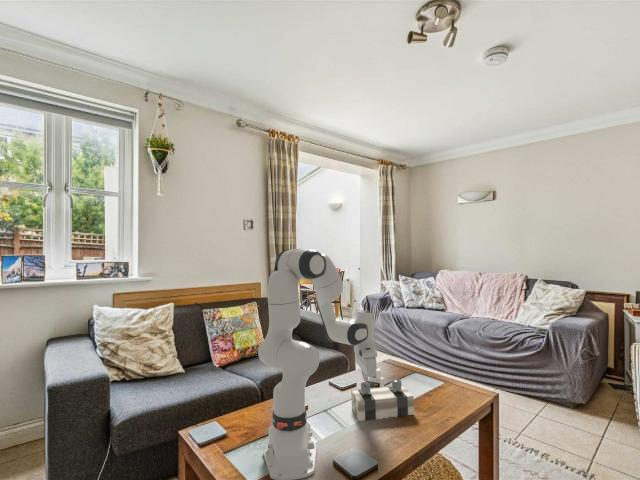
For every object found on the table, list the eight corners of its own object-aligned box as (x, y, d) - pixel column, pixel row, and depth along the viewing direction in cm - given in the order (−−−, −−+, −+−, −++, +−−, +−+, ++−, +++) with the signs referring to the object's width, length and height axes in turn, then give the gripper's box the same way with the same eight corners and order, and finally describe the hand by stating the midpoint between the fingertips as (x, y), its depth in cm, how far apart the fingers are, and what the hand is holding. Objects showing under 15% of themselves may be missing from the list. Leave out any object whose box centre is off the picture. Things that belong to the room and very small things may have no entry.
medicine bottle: (366, 395, 165) (365, 369, 166) (370, 389, 172) (370, 365, 172) (380, 397, 162) (379, 371, 162) (384, 391, 168) (383, 367, 169)
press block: (414, 415, 143) (413, 396, 144) (358, 421, 140) (358, 401, 140) (403, 403, 155) (402, 385, 156) (351, 408, 152) (351, 389, 152)
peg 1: (371, 401, 145) (371, 385, 145) (362, 402, 144) (362, 385, 145) (369, 397, 149) (368, 381, 149) (360, 398, 148) (359, 382, 149)
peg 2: (403, 398, 147) (402, 382, 147) (394, 399, 146) (393, 383, 147) (399, 395, 151) (399, 379, 151) (391, 395, 150) (390, 379, 151)
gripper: (351, 342, 157) (352, 372, 157) (363, 355, 137) (364, 390, 137) (364, 341, 158) (365, 371, 158) (378, 354, 138) (379, 388, 138)
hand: (365, 380), depth 147 cm, fingers closed
